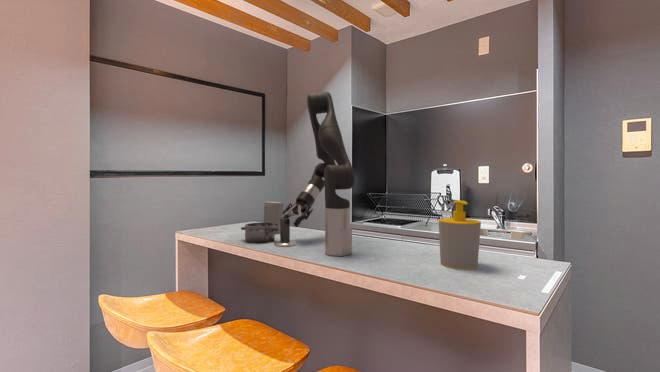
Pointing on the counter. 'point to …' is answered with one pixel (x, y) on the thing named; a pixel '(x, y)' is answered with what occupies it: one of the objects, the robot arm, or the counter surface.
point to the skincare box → (273, 213)
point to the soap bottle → (459, 240)
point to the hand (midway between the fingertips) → (288, 224)
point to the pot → (259, 232)
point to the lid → (284, 234)
